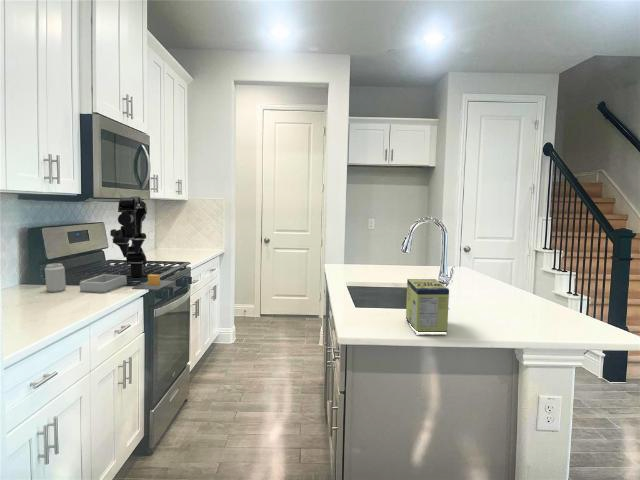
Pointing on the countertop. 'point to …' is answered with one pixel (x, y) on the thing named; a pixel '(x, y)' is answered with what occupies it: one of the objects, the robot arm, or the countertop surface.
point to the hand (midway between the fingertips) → (131, 255)
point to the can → (55, 277)
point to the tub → (103, 283)
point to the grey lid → (153, 283)
